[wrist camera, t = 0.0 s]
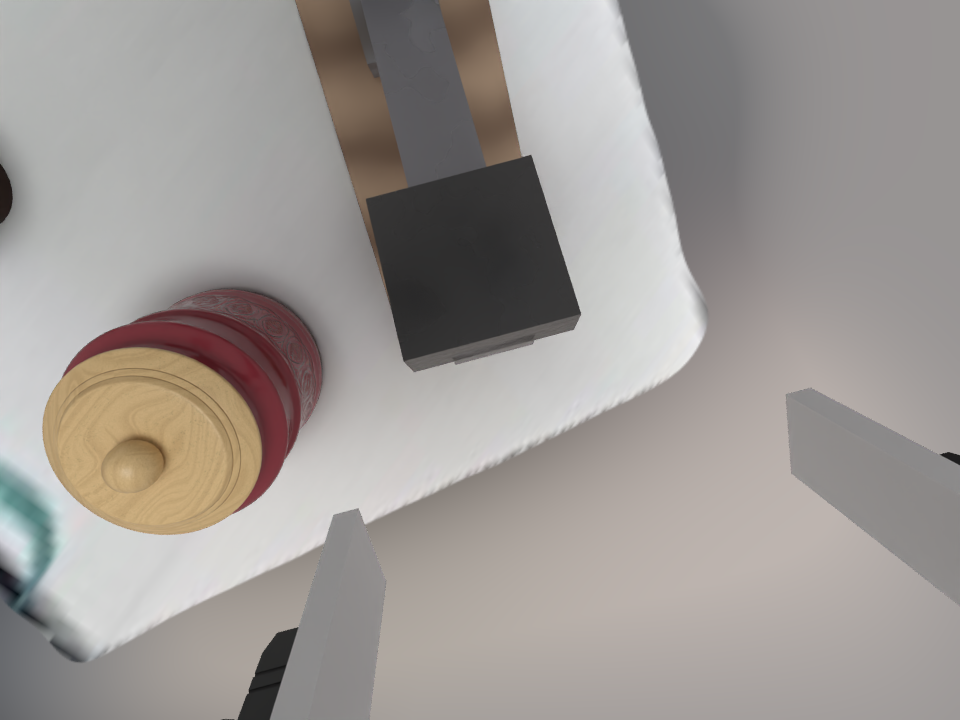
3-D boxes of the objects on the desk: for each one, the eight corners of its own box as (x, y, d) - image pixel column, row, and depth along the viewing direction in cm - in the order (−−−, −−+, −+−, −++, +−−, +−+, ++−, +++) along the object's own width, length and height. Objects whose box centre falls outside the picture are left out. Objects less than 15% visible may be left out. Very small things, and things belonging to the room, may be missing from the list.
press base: (265, -108, 33) (160, -296, 21) (450, -157, 33) (459, -374, 21) (410, 358, 43) (400, 429, 31) (552, 321, 43) (601, 375, 31)
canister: (260, 253, 40) (135, 298, 23) (357, 391, 44) (309, 514, 27) (120, 339, 41) (-96, 441, 24) (227, 465, 45) (104, 629, 28)
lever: (293, -142, 25) (267, -216, 23) (415, -174, 25) (403, -252, 23) (417, 375, 20) (403, 361, 17) (570, 334, 20) (580, 314, 17)
